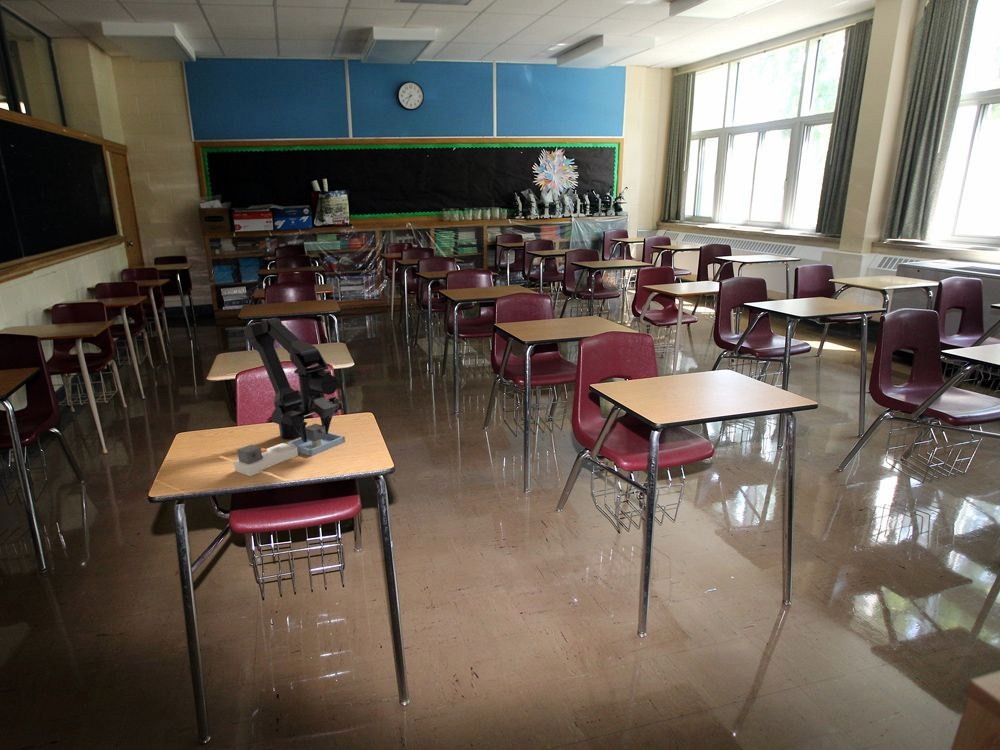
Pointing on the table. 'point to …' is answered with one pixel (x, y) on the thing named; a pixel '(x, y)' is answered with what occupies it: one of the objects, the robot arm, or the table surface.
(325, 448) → the tray
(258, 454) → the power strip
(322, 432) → the grey block with knob
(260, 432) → the table surface
